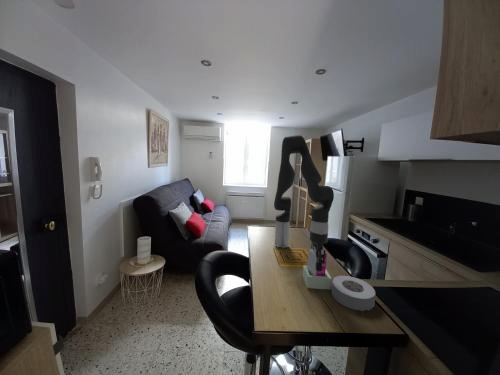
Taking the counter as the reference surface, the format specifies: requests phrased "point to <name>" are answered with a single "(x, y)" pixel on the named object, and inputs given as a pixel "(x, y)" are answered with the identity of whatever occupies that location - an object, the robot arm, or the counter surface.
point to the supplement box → (312, 264)
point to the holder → (317, 280)
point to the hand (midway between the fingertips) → (316, 266)
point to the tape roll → (353, 293)
